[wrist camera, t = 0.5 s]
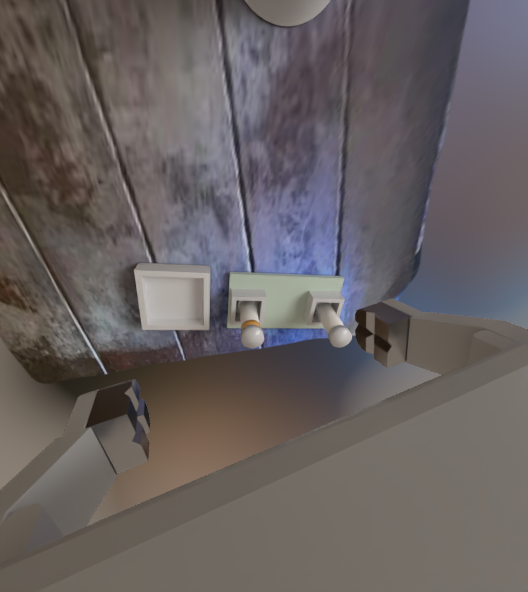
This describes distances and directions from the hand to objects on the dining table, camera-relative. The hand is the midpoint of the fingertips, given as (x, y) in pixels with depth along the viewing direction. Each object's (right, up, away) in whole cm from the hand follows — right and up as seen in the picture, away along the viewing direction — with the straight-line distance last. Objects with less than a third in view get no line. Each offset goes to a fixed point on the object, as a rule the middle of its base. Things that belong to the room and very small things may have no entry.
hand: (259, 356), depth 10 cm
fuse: (+12, 0, +45) cm, 47 cm away
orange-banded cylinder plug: (-3, +1, +43) cm, 43 cm away
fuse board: (+4, +1, +45) cm, 45 cm away
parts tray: (-16, +3, +41) cm, 44 cm away
